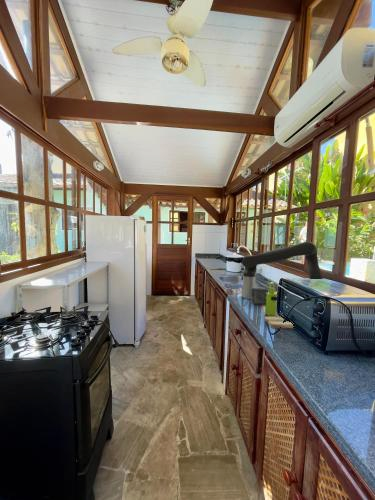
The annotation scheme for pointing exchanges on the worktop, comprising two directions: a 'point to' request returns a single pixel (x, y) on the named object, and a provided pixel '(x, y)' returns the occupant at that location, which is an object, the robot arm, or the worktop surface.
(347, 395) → the worktop surface
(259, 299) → the small box
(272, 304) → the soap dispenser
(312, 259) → the robot arm
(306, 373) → the worktop surface
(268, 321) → the birch board
